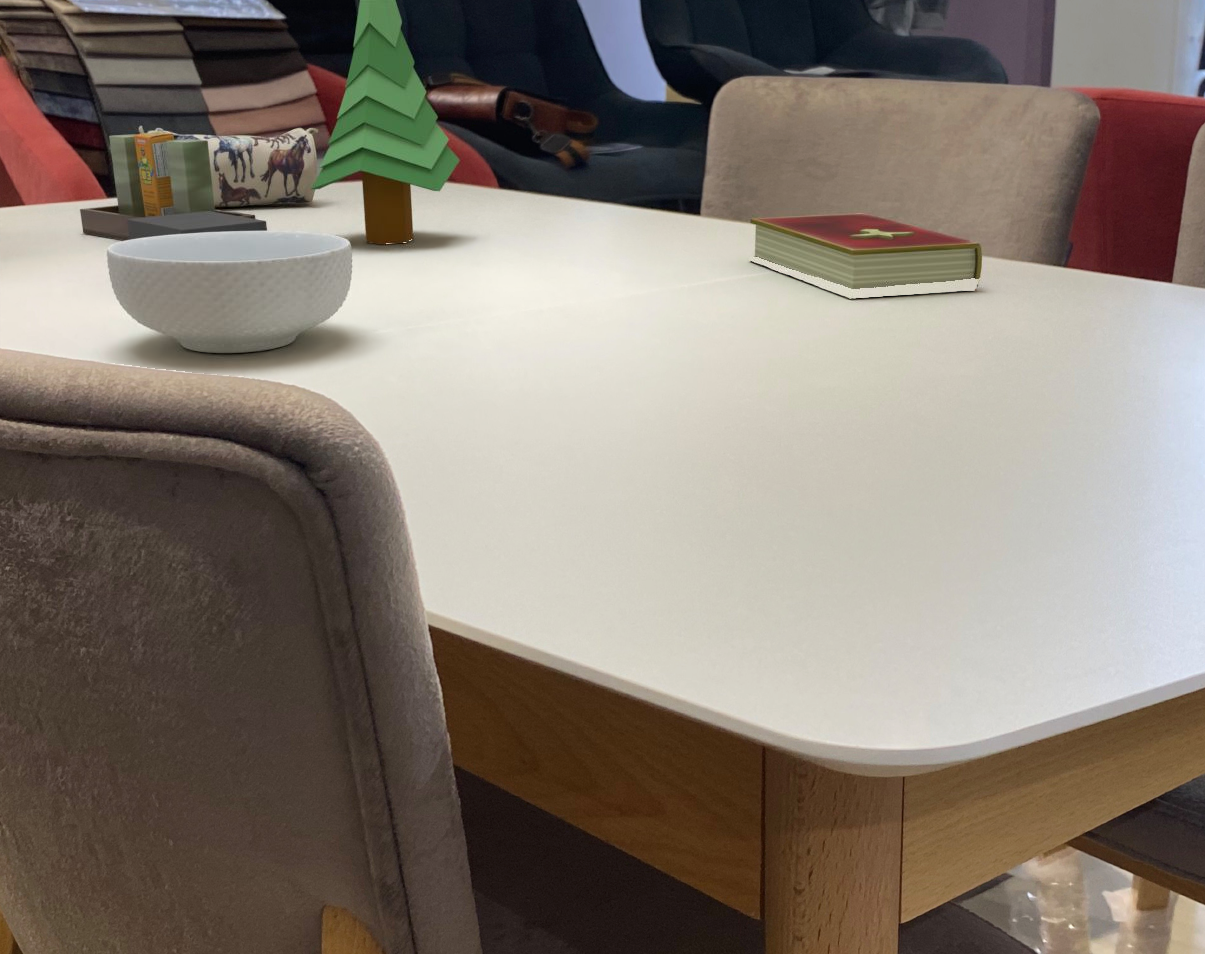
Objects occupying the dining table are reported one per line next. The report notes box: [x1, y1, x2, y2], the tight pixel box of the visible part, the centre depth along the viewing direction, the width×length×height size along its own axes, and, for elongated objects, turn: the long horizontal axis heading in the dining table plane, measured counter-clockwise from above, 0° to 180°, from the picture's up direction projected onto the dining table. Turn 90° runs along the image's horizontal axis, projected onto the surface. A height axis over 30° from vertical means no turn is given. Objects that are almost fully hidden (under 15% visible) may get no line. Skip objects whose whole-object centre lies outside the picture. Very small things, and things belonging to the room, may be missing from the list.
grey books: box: [127, 211, 268, 240], centre depth 127 cm, size 10×11×5 cm
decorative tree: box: [310, 0, 461, 245], centre depth 145 cm, size 14×16×30 cm
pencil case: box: [138, 125, 319, 209], centre depth 177 cm, size 22×8×10 cm, turn 106°
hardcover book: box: [749, 212, 983, 289], centre depth 128 cm, size 12×21×4 cm, turn 18°
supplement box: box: [134, 132, 175, 217], centre depth 152 cm, size 3×3×10 cm
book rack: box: [79, 133, 256, 241], centre depth 153 cm, size 9×19×10 cm, turn 48°
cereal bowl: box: [106, 230, 353, 354], centre depth 102 cm, size 17×17×7 cm
